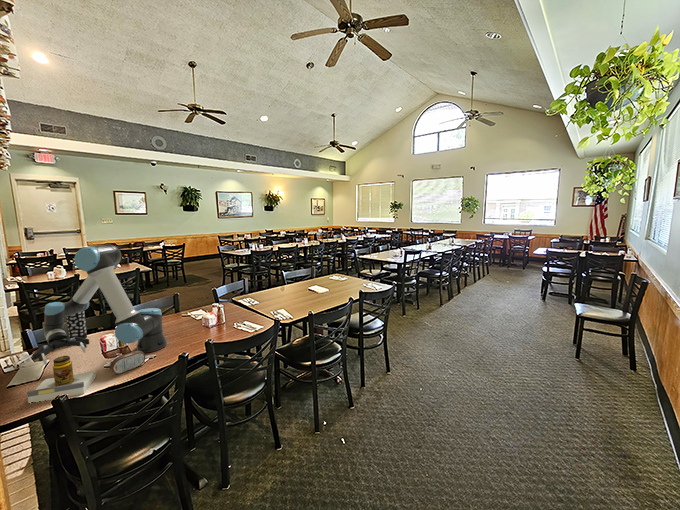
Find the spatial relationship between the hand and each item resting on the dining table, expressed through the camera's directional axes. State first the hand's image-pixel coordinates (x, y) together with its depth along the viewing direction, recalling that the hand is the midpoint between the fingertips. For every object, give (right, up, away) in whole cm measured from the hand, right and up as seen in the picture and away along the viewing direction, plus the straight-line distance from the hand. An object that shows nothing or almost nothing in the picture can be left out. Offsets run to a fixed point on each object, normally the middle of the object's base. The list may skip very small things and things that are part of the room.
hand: (65, 355), depth 136 cm
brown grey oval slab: (+23, -11, +10) cm, 27 cm away
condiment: (+6, -10, -7) cm, 13 cm away
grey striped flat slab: (+6, -13, -7) cm, 16 cm away
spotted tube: (-30, -6, +40) cm, 50 cm away
